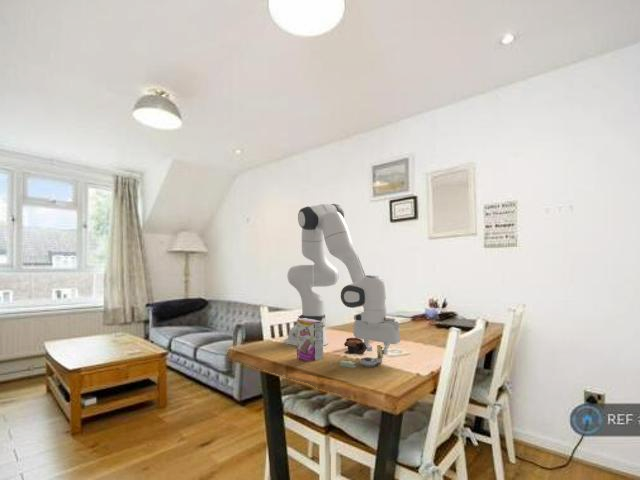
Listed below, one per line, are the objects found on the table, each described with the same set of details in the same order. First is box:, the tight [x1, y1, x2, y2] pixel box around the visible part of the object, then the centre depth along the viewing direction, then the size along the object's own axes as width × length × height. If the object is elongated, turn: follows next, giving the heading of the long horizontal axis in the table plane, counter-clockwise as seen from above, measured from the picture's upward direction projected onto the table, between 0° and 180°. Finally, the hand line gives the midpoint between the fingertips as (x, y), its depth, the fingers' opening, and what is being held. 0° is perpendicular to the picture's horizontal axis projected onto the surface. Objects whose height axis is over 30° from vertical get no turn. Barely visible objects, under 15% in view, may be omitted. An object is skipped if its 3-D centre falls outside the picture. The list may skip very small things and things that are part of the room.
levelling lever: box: [359, 344, 384, 368], centre depth 123 cm, size 10×6×6 cm, turn 122°
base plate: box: [339, 360, 358, 369], centre depth 122 cm, size 22×19×4 cm
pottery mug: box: [343, 337, 367, 355], centre depth 141 cm, size 12×10×8 cm
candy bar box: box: [296, 318, 324, 363], centre depth 134 cm, size 11×5×16 cm, turn 44°
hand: (376, 352), depth 127 cm, fingers open, 6 cm apart
